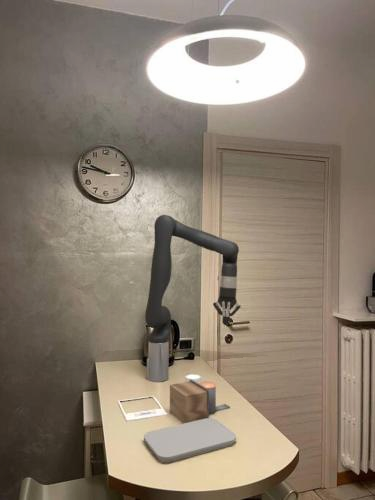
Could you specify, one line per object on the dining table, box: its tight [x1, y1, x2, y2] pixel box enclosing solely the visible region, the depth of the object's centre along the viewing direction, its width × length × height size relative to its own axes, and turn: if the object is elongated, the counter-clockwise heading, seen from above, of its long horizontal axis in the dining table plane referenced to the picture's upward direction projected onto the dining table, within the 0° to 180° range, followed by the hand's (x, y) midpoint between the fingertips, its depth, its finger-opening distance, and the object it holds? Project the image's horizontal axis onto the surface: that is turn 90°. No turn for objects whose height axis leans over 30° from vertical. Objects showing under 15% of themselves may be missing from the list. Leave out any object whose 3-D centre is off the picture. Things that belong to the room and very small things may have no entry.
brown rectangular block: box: [169, 379, 231, 424], centre depth 135 cm, size 21×12×11 cm, turn 119°
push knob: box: [199, 380, 217, 414], centre depth 136 cm, size 6×6×9 cm
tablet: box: [143, 417, 237, 464], centre depth 114 cm, size 16×26×2 cm, turn 117°
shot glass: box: [184, 373, 202, 384], centre depth 153 cm, size 7×7×7 cm
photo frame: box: [116, 395, 168, 423], centre depth 138 cm, size 15×1×18 cm
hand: (225, 324), depth 166 cm, fingers closed
